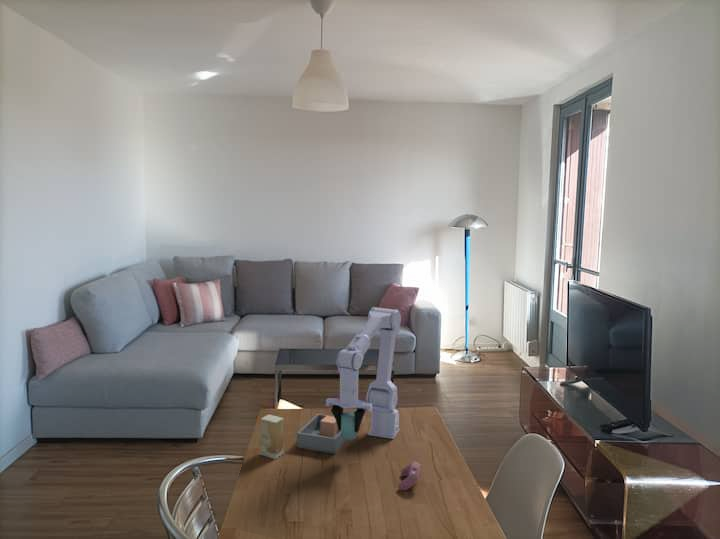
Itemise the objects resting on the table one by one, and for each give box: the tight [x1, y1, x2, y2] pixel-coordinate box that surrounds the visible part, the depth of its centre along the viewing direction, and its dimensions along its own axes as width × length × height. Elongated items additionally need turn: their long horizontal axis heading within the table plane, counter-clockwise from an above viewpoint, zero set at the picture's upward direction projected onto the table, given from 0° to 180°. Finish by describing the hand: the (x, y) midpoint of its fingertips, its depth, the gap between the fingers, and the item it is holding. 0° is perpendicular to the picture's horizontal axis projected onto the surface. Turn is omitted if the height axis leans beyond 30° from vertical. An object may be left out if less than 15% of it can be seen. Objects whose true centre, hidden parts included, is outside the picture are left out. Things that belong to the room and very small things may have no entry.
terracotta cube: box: [320, 415, 339, 437], centre depth 190 cm, size 5×5×5 cm
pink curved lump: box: [397, 460, 422, 491], centre depth 159 cm, size 10×5×7 cm, turn 170°
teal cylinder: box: [341, 411, 358, 441], centre depth 173 cm, size 5×5×7 cm
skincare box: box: [260, 414, 285, 460], centre depth 175 cm, size 6×4×12 cm
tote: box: [296, 413, 348, 455], centre depth 187 cm, size 14×18×5 cm
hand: (348, 430), depth 173 cm, fingers closed on teal cylinder, 5 cm apart
